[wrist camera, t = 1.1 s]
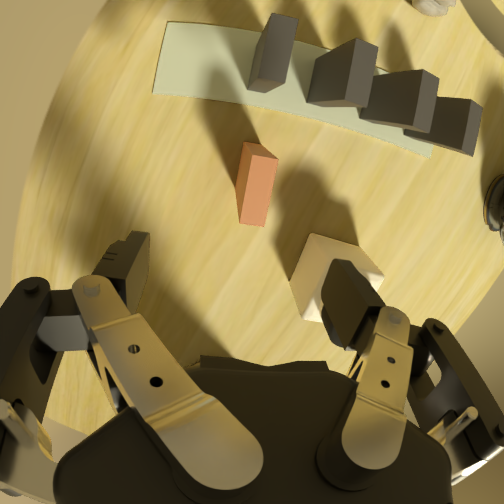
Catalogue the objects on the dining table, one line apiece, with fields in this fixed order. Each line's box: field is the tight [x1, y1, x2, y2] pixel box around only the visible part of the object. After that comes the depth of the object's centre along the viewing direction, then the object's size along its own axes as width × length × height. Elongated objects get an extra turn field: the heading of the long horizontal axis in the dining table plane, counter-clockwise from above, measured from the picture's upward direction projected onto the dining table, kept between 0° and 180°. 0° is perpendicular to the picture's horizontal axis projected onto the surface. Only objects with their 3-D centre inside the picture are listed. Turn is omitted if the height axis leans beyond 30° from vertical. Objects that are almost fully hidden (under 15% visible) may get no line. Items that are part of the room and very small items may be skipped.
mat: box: [153, 22, 433, 159], centre depth 25 cm, size 32×8×1 cm, turn 79°
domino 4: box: [359, 69, 439, 133], centre depth 22 cm, size 2×5×10 cm, turn 169°
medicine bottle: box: [289, 233, 384, 347], centre depth 30 cm, size 7×7×12 cm
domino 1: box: [247, 13, 299, 93], centre depth 20 cm, size 2×5×10 cm, turn 169°
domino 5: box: [403, 97, 483, 157], centre depth 22 cm, size 2×5×10 cm, turn 169°
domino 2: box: [235, 142, 279, 227], centre depth 24 cm, size 2×5×10 cm, turn 169°
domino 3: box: [306, 38, 378, 108], centre depth 21 cm, size 2×5×10 cm, turn 169°
